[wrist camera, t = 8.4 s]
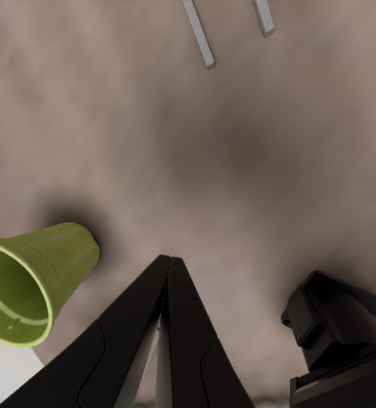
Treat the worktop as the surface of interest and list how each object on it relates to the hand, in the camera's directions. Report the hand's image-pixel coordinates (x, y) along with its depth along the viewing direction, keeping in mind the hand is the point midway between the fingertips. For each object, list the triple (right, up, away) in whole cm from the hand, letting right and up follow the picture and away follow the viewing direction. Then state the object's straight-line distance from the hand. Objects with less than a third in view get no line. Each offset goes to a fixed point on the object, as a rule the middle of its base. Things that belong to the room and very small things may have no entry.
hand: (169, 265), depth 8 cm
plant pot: (-12, -2, +17) cm, 21 cm away
